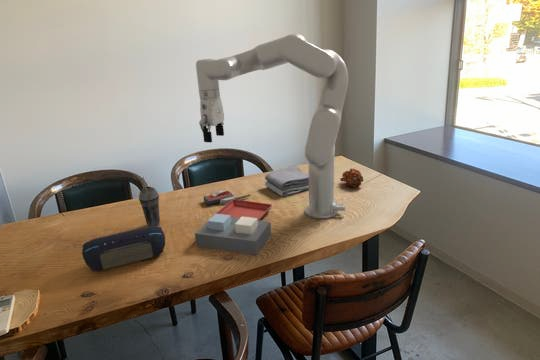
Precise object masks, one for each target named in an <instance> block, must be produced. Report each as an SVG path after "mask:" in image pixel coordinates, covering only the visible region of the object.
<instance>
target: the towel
mask: <svg viewBox="0 0 540 360" xmlns="http://www.w3.org/2000/svg"><path fill="white" fill-rule="evenodd" d="M264 179H265V180H266V181H265V182H264V185H265V186H266V187H267V188H268V189H270V190H271V191H273V192H274V193H276V194H278V195H279V196H281V197H287V196H291V195H294V194H297V193H300V192H303V191H305V190H309V173H306V172H304V171H302V170H301V169H300V167H298V166H297V165H292V166H289V167H285V168H281V169H277V170H273V171H270V172H268V173H267V174H266V175H265V176H264Z"/></svg>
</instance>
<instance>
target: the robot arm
mask: <svg viewBox="0 0 540 360" xmlns="http://www.w3.org/2000/svg"><path fill="white" fill-rule="evenodd" d="M288 63H289V64H291V66H294V67H295V68H298V69H300V70H301V71H304V72H305V73H306V74H309V75H311V76H313V77H315V78H318V79H323V84H322V89H321V92H320V97H319V101H318V106H317V108H316V110H315V111H314V114H313V115H312V118H311V121H310V125H309V130H308V135H307V139H306V142H305V146H304V156H305V158H306V160H307V162H308V174H309V189H308V205H306V207H304V208H305V209H304V210H305V214H306V215H307V216H309V217H311V218H314V219H324V220H325V219H329V218H332V217H335V216H337V215H338V212H339V211H340V212H345V211H346V205H344V203H337V199H335V156H336V155H335V154H336V153H335V152H336V151H335V150H336V146H335V145H336V143H337V137H338V134H339V129H340V126H341V122H342V113H343V109H344V105H345V100H346V96H347V92H348V87H349V71H348V68H347V65H346V63H345V61H344V60H343V58H342V57H341V56H340V55H339V54H338V53H337V52H335V51H334V50H331V49H321V48H320V47H318V46H316V45H314V44H312V43H310V42H308V41H307V40H306V38H305V37H304V36H303V35H302V34H299V33H291V34H287V35H285V36H282V37H280V38H277V39H273V40H270V41H267V42H264V43H261V44H258V45H256V46H255V47H254V48H252V49H250V50H247V51H244V52H241V53H238V54H234V55H231V56H227V57H224V58H219V59H214V58H204V59H203V58H202V59H198V60H196V62H195V68H196V69H195V70H196V77H197V86H198V94H199V101H200V102H199V104H200V105H199V107H200V120H199V122H198V124H199V126H200V130H201V132H202V135H203V142H204V143H212V142H213V137H212V136H213V135H212V131H211V129H212V127H215V134H216V136H217V137H221V136H222V137H224V135H225V132H224V131H225V130H224V121H225V113H224V108H223V107H224V106H223V102H222V98H221V93H220V85H219V84H220V83H219V81H229V80H231V79H234V78H237V77H239V76H242V75H246V74H248V73H252V72H256V71H264V70H265V71H266V70H269V69H273V68H276V67H278V66H281V65H282V66H283V65H286V64H288Z"/></svg>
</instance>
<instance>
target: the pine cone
mask: <svg viewBox="0 0 540 360" xmlns="http://www.w3.org/2000/svg"><path fill="white" fill-rule="evenodd" d="M341 177H342V178H341ZM341 177H340V178H339V179H340V182H344V183H345V185H346V186H347V187H353V188H357V187H359V186H361V185H362V182H364V176H363V175H362V172H361V171H360V170H358V169H356V168H351V167H350V168H349V170H345V171H344V172H342V176H341Z"/></svg>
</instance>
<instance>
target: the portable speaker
mask: <svg viewBox="0 0 540 360" xmlns="http://www.w3.org/2000/svg"><path fill="white" fill-rule="evenodd" d="M165 247H166V236H165V233H164V230H163V228H162V226H161V227H160V226H149V227H148V226H145V227H141V228H136V229H133V230H132V229H131V230H129V231H123V232H120V233H115V234H110V235H105V236H101V237H95V238H93V239H91V240H88V241H86V242H85V243H83V244H82V250H81V251H82V252H81V254H82V255H81V256H82V258H83V260H84V263H85V265H86V266H87V267H88V268H90V270H91V271H94V272H99V271H103V270H107V269H112V268H115V267H118V266H124V265H127V264H131V263H135V262H139V261H142V260H146V259H147V260H148V259H151V258H155V257H156V258H157V257H159V256H160V255H161V254H163V253H164V249H165Z"/></svg>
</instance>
